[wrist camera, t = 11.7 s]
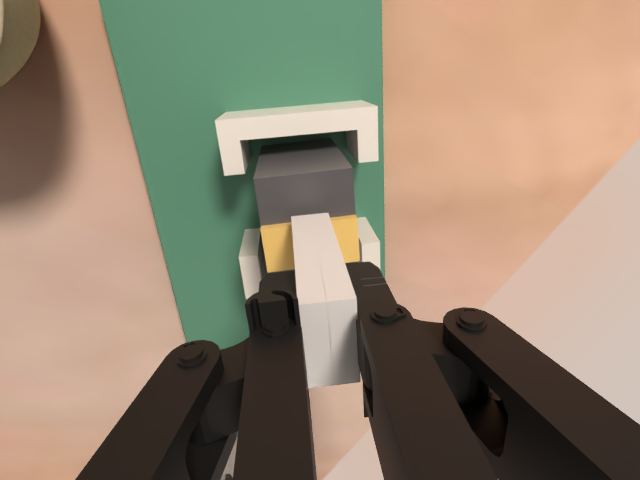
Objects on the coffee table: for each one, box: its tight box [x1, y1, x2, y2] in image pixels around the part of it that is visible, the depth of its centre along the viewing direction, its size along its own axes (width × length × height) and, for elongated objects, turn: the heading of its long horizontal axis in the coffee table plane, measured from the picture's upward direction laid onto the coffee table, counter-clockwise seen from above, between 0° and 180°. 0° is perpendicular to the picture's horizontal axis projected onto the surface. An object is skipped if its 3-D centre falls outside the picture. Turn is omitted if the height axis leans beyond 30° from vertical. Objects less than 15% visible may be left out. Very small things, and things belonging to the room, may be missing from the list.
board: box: [99, 0, 385, 349], centre depth 23 cm, size 14×22×5 cm, turn 4°
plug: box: [253, 138, 360, 273], centre depth 20 cm, size 4×6×8 cm, turn 5°
